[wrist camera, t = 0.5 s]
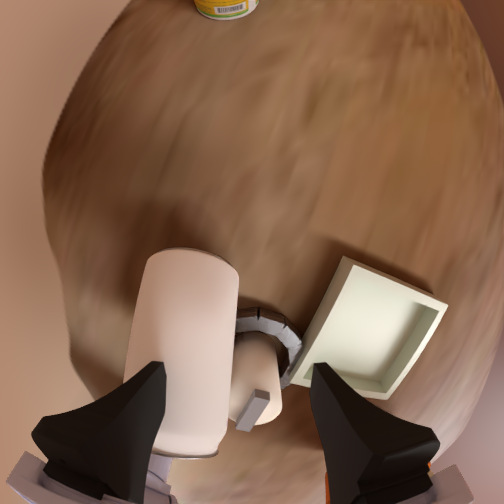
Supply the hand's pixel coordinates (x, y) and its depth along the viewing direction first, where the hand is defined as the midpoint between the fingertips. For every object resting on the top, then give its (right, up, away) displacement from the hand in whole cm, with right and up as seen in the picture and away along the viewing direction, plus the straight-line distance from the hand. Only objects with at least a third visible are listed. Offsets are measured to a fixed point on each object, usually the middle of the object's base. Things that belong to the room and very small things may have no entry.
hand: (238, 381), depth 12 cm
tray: (+11, -1, +10) cm, 15 cm away
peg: (+1, -2, +11) cm, 11 cm away
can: (-3, +5, +7) cm, 9 cm away
